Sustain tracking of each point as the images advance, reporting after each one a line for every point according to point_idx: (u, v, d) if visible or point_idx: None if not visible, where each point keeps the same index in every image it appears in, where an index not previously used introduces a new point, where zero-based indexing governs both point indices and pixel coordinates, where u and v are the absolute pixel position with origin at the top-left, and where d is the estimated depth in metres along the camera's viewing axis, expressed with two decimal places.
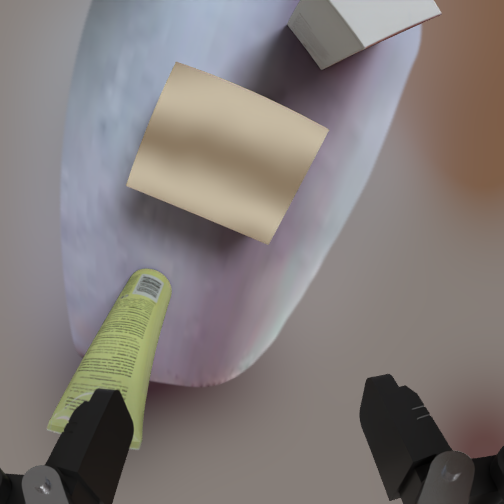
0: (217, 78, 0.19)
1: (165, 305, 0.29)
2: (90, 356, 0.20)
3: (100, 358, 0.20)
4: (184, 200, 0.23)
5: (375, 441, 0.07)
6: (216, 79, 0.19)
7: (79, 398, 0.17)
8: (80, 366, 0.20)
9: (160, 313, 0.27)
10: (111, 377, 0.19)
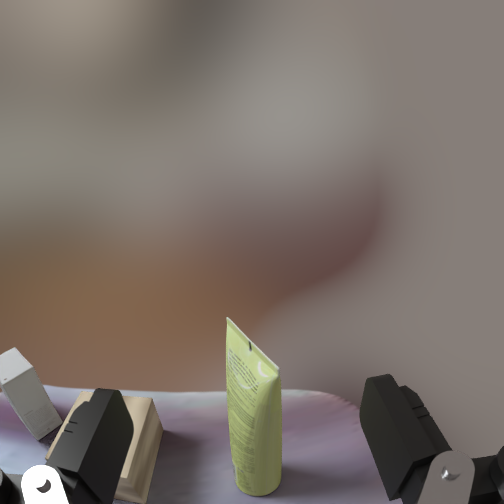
0: (56, 438, 0.24)
1: None
2: (244, 424, 0.21)
3: (237, 416, 0.22)
4: (131, 442, 0.25)
5: (375, 441, 0.07)
6: (56, 438, 0.24)
7: (248, 385, 0.20)
8: (253, 422, 0.20)
9: None
10: (231, 390, 0.22)
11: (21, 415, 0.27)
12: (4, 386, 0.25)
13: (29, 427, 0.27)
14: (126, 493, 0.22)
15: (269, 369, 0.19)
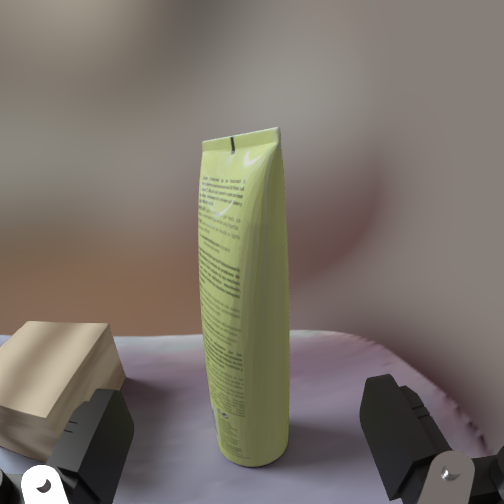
0: None
1: None
2: (224, 296, 0.13)
3: (212, 285, 0.14)
4: (67, 372, 0.18)
5: (375, 441, 0.07)
6: None
7: (228, 204, 0.12)
8: (238, 281, 0.12)
9: None
10: (203, 242, 0.15)
11: None
12: None
13: None
14: None
15: (262, 147, 0.11)
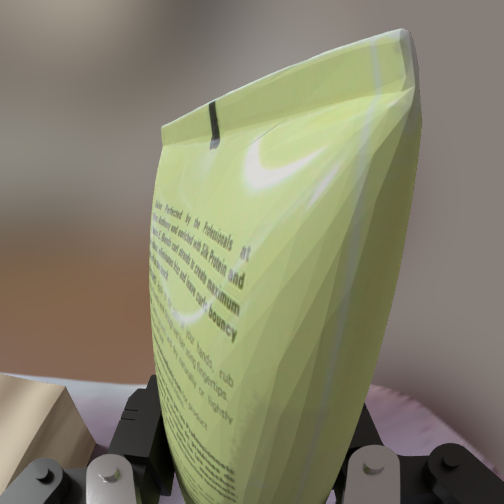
0: None
1: None
2: (202, 482, 0.05)
3: (179, 447, 0.05)
4: (10, 461, 0.09)
5: None
6: None
7: (198, 304, 0.04)
8: (232, 484, 0.04)
9: None
10: (157, 351, 0.06)
11: None
12: None
13: None
14: None
15: (322, 116, 0.03)
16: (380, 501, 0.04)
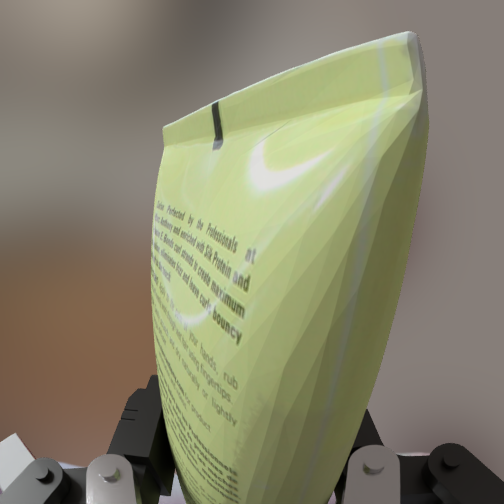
0: None
1: None
2: (205, 484, 0.05)
3: (181, 448, 0.05)
4: None
5: None
6: None
7: (202, 306, 0.04)
8: (235, 486, 0.04)
9: None
10: (159, 352, 0.06)
11: None
12: None
13: None
14: None
15: (328, 118, 0.03)
16: (379, 501, 0.04)
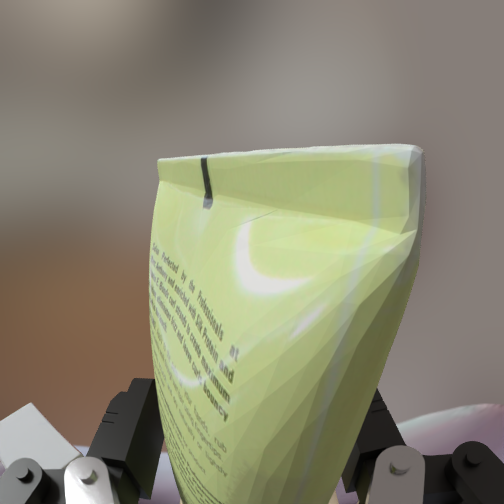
0: None
1: None
2: None
3: (181, 476, 0.06)
4: None
5: None
6: None
7: (194, 373, 0.04)
8: None
9: None
10: (158, 389, 0.06)
11: None
12: None
13: None
14: None
15: (312, 228, 0.03)
16: (403, 502, 0.04)
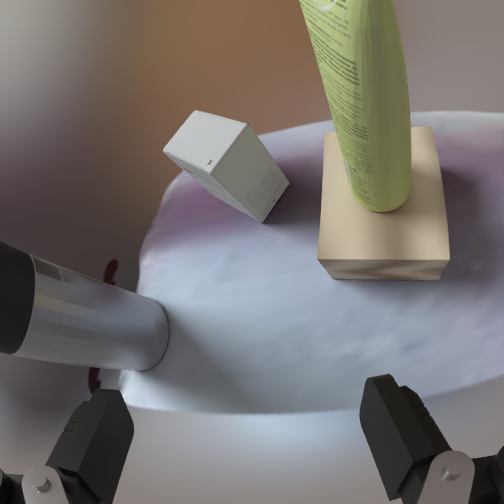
0: (321, 218, 0.24)
1: None
2: (343, 80, 0.11)
3: (330, 68, 0.12)
4: (436, 199, 0.20)
5: (375, 441, 0.07)
6: (323, 219, 0.24)
7: (331, 1, 0.08)
8: (356, 72, 0.10)
9: None
10: (312, 26, 0.11)
11: (241, 201, 0.29)
12: (213, 173, 0.25)
13: (252, 211, 0.31)
14: (426, 273, 0.22)
15: None
16: None
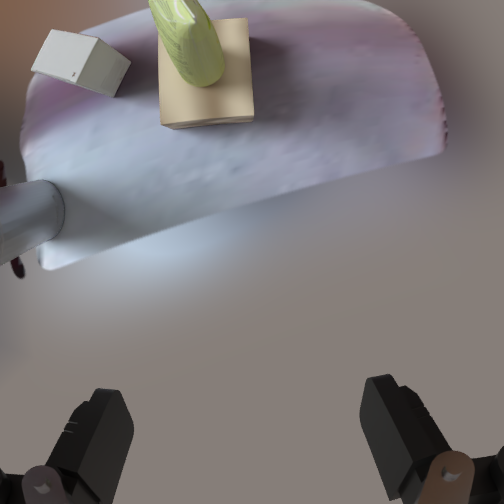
0: (160, 96, 0.29)
1: None
2: (172, 46, 0.17)
3: (164, 36, 0.17)
4: (245, 74, 0.29)
5: (375, 441, 0.07)
6: (161, 96, 0.29)
7: (167, 17, 0.13)
8: (180, 47, 0.16)
9: None
10: (153, 12, 0.15)
11: (97, 90, 0.29)
12: (78, 82, 0.25)
13: (106, 93, 0.31)
14: (240, 120, 0.34)
15: (185, 11, 0.11)
16: None
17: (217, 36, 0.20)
